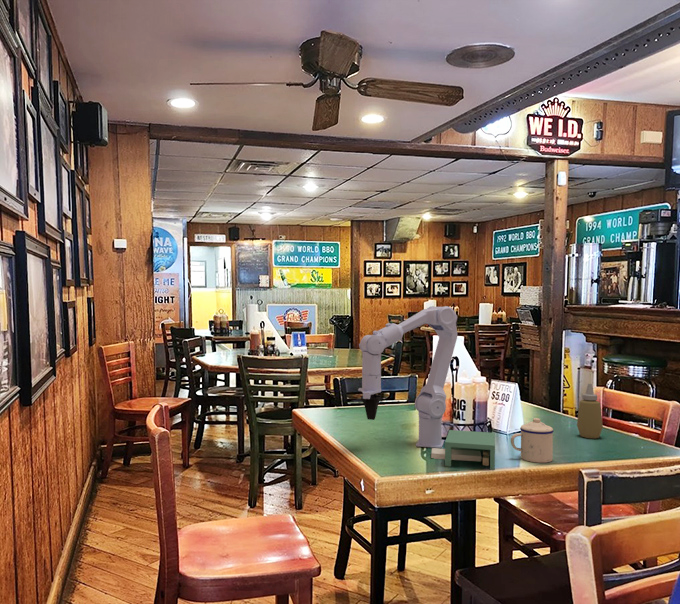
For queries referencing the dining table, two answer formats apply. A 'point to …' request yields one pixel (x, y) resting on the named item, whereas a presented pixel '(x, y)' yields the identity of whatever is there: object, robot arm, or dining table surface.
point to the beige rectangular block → (457, 454)
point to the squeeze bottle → (589, 415)
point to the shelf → (471, 445)
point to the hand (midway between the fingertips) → (371, 419)
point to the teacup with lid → (535, 442)
